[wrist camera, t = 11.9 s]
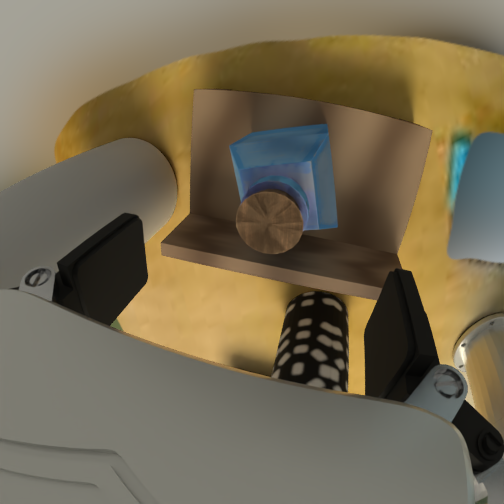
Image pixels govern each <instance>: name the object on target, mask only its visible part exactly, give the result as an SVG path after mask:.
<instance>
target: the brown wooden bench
mask: <svg viewBox="0 0 504 504" xmlns="http://www.w3.org/2000/svg"><path fill="white" fill-rule="evenodd" d="M318 124H327V126H328V133H329V141H330V149H331V157H332V166H333V175H334V185H335V196H336V209H337V224H338V227H337V228H328V229H318V230H304V231H303V233H302V235H301V238H300V240H299V241H298V242H297V244H296V245H295V246H294V247H293V248H291V249H289V250H287V251H286V252H283V253H278V254H267V253H262V252H260V251H257V250H254V249H253V248H252V247H250V246H249V245H247V244H246V243H245V241H244V240H243V239H242V238H241V236H240V234H239V232H238V229H237V227H236V215H237V212H238V208H239V207H240V205H241V199H240V195H239V190H238V185H237V180H236V176H235V171H234V166H233V161H232V157H231V152H230V147H229V145H231V144H233V143H235V142H236V141H238V140H240V139H241V138H243V137H245V136H247V135H248V134H250V133H253V132H259V131H266V130H274V129H281V128H289V127H298V126H307V125H318ZM431 135H432V130H430V129H428V128H425V127H423V126H420V125H417V124H415V123H412V122H408V121H405V120H402V119H395V118H392V117H388V116H384V115H380V114H377V113H373V112H369V111H364V110H360V109H356V108H351V107H347V106H342V105H337V104H332V103H327V102H321V101H316V100H310V99H303V98H297V97H290V96H282V95H274V94H265V93H256V92H244V91H231V90H228V89H194V100H193V117H192V140H191V173H190V214H189V215H188V216H187V217H186V218H185V219H184V220H183V221H182V222H181V223H180V224H179V225H178V226H177V227H176V228H175V229H174V230H173V231H172V232H171V233H170V234H169V235H168V236H167V237H166V238H165V239H164V240H163V241H162V242H161V252H162V255H163V256H167V257H171V258H176V259H180V260H185V261H189V262H193V263H198V264H202V265H207V266H211V267H216V268H220V269H225V270H230V271H234V272H239V273H243V274H248V275H253V276H258V277H262V278H267V279H272V280H277V281H281V282H286V283H291V284H296V285H301V286H306V287H311V288H316V289H321V290H326V291H331V292H336V293H341V294H346V295H352V296H357V297H362V298H367V299H373V300H378V298H379V296H380V293H381V291H382V288H383V286H384V283H385V281H386V278H387V276H388V273H389V272H390V271H393V272H394V270H395V269H396V268H398V269H402V267H401V264H400V261H399V258H398V255H397V253H398V250H399V247H400V245H401V242H402V239H403V236H404V233H405V230H406V227H407V224H408V221H409V218H410V215H411V212H412V208H413V205H414V202H415V198H416V195H417V192H418V188H419V184H420V181H421V177H422V173H423V169H424V165H425V161H426V157H427V153H428V149H429V144H430V140H431Z"/></svg>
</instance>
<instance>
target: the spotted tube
mask: <svg viewBox="0 0 504 504" xmlns="http://www.w3.org/2000/svg"><path fill="white" fill-rule="evenodd" d="M348 369H349V333H348V311H347V308H346V306H345V304H344V303H343V302H342V301H341V300H340V299H339V298H337V297H336V296H334V295H332V294H329V293H325V292H317V291H314V292H307V293H304V294H301V295H299V296H297V297H296V298H294V299H293V300H292V301H291V302H290V303H289V305H288V307H287V310H286V314H285V319H284V323H283V328H282V332H281V337H280V341H279V346H278V350H277V354H276V359H275V363H274V367H273V371H272V375H271V377H273V378H277V379H281V380H286V381H290V382H295V383H300V384H305V385H310V386H315V387H320V388H325V389H330V390H336V391H341V392H347V393H348Z"/></svg>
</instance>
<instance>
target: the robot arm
mask: <svg viewBox="0 0 504 504" xmlns="http://www.w3.org/2000/svg"><path fill="white" fill-rule="evenodd" d="M57 266H58V269H59V271H58V272H57V273H56V272H55V270H54V269H53V268H52V267H50V266H39V267H35V268H33V269H31V270H29V271H28V272H27V273H26V274H25V275H24V276H23V278H22V280H21V283H20V286H19V287H15V288H11V289H0V504H504V313H498V314H494V315H490V316H488V317H485V318H483V319H482V320H480V321H478V322H477V323H475V324H474V325H472V326H471V327H470V328H469V329H468V330H467V331H466V332H465V333H464V334H463V335H462V336H461V337H460V339H459V340H458V342H457V343H456V345H455V347H454V350H453V361H454V364H455V367H456V368H457V369H458V370H460V371H462V372H466V373H467V376H468V380H469V384H470V387H471V391H472V395H473V400H474V404H475V408H476V409H474V408H473V407H472V406H471V405H470V404H469V403H468V402H467V401H466V400H465V398H466V395H467V392H468V386H467V383H466V380H465V378H464V377H463V375H462V374H461V373H460V372H459V371H458V370H457V369H455V368H454V367H452V366H449V365H442V364H440V363H439V358H438V354H437V350H436V346H435V342H434V339H433V335H432V331H431V328H430V324H429V321H428V317H427V314H426V312H425V311H424V308H423V305H422V302H421V298H420V295H419V292H418V289H417V286H416V283H415V280H414V277H413V275H412V272H411V271H407V270H403V269H398V268H396V269H395V270H394V272H393V271H390V272H389V273H388V276H387V278H386V281H385V283H384V286H383V288H382V291H381V293H380V296H379V298H378V300H377V303H376V305H375V307H374V310H373V312H372V314H371V317H370V319H369V321H368V323H367V325H366V328H365V332H364V347H365V395H359V394H353V393H347V392H341V391H336V390H330V389H325V388H320V387H315V386H310V385H305V384H300V383H295V382H290V381H286V380H281V379H277V378H273V377H268V376H264V375H260V374H256V373H252V372H248V371H245V370H241V369H237V368H233V367H230V366H226V365H222V364H219V363H215V362H212V361H209V360H205V359H202V358H199V357H195V356H192V355H189V354H186V353H183V352H180V351H177V350H174V349H171V348H168V347H165V346H162V345H159V344H156V343H153V342H150V341H148V340H145V339H142V338H139V337H137V336H134V335H131V334H129V333H126V332H123V331H121V330H118V329H116V328H113V327H111V326H110V325H111V323H113V321H114V320H115V319H116V318H117V317H118V316H119V314H120V313H121V312H122V311H123V310H124V308H125V307H126V306H127V305H128V304H129V303H130V301H131V300H132V299H133V298H134V297H135V296H136V294H137V293H138V292H139V291H140V290H141V289H142V288H143V286H144V285H145V284H146V282H147V279H148V272H147V263H146V254H145V244H144V233H143V223H142V220H141V219H140V218H139V216H138V215H136V214H131V213H123V214H121V215H120V216H118V217H117V218H115V219H114V220H113V221H111V222H110V223H108V224H107V225H106V226H104V227H103V228H101V229H100V230H99V231H97V232H96V233H95V234H93V235H92V236H90V237H89V238H88V239H86V240H85V241H84V242H82V243H81V244H80V245H78V246H77V247H76V248H75V249H73V250H72V251H71V252H69V253H68V254H67V255H66V256H64V257H63V258H62V259H61V260H59V261H58V262H57Z"/></svg>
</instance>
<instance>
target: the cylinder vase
mask: <svg viewBox="0 0 504 504" xmlns="http://www.w3.org/2000/svg"><path fill="white" fill-rule="evenodd" d="M176 202H177V183H176V179H175V175H174V172H173V170H172V168H171V166H170V164H169V162H168V160H167V159H166V158H165V156H164V155H163V154H162V153H161V152H160V151H159V150H158V149H157V148H156V147H154V146H153V145H152V144H150V143H148V142H146V141H144V140H141V139H137V138H122V139H119V140H116V141H113V142H110V143H107V144H105V145H102V146H99V147H97V148H94V149H91V150H89V151H86V152H84V153H81V154H79V155H76V156H74V157H71V158H69V159H67V160H64V161H62V162H60V163H58V164H55V165H53V166H51V167H49V168H47V169H44V170H42V171H40V172H38V173H36V174H34V175H32V176H30V177H28V178H26V179H24V180H22V181H20V182H18V183H16V184H14V185H12V186H10V187H9V188H7V189H5V190H3V191H1V192H0V289H11V288H15V287H19V286H20V283H21V280H22V278H23V276H24V275H25V274H26V273H27V272H28V271H29V270H31V269H33V268H35V267H39V266H50V267H52V268H53V269H54V270H55V272H56V273H57V272H58V271H59V269H58V266H57V262H58V261H59V260H61V259H62V258H63V257H64V256H66V255H67V254H68V253H69V252H71V251H72V250H73V249H75V248H76V247H77V246H78V245H80V244H81V243H82V242H84V241H85V240H86V239H88V238H89V237H90V236H92V235H93V234H95V233H96V232H97V231H99V230H100V229H101V228H103V227H104V226H106V225H107V224H108V223H110V222H111V221H113V220H114V219H115V218H117V217H118V216H120V215H121V214H123V213H131V214H136V215H138V216H139V218H140V219H141V220H142V223H143V233H144V244H145V243H146V242H147V241H148V240H149V239H150V238H151V237H152V236H153V235H154V234H156V233H157V232H158V231H159V230H160V229H161V228H162V227H163V226H164V225H165V224H166V223H167V222H168V221H169V219H170V218H171V216H172V214H173V212H174V210H175V206H176Z"/></svg>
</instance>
